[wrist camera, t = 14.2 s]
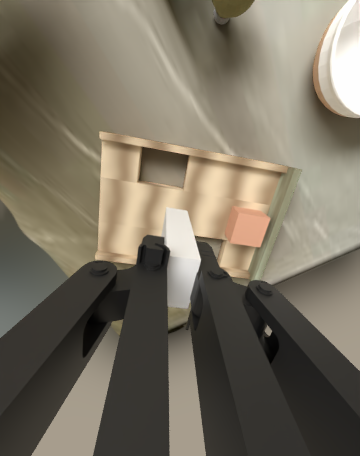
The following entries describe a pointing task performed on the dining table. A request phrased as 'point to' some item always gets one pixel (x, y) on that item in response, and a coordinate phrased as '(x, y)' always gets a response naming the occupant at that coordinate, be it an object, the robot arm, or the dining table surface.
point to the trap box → (189, 201)
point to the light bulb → (229, 9)
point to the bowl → (340, 63)
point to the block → (246, 226)
